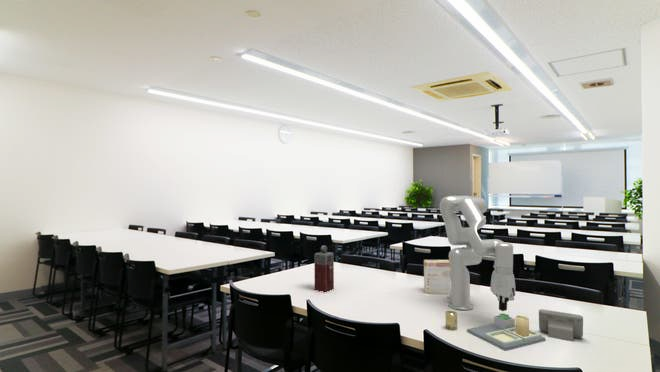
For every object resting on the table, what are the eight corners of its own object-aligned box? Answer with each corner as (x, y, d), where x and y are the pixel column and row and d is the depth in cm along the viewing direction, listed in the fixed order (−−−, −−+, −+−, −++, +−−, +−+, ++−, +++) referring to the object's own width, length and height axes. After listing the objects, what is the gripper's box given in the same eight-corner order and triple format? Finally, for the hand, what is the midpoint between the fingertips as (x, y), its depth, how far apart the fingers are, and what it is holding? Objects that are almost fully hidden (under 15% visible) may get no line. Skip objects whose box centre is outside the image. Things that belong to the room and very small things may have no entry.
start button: (497, 323, 159) (497, 314, 160) (503, 322, 161) (503, 312, 161) (504, 327, 156) (504, 317, 156) (511, 325, 157) (511, 315, 157)
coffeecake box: (448, 291, 218) (448, 259, 218) (451, 294, 211) (450, 262, 211) (423, 290, 220) (423, 259, 220) (425, 293, 212) (425, 261, 213)
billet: (443, 327, 161) (443, 311, 161) (451, 325, 163) (451, 310, 163) (451, 331, 157) (450, 315, 157) (459, 329, 159) (459, 313, 159)
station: (467, 331, 156) (467, 312, 156) (504, 323, 165) (504, 305, 165) (505, 350, 137) (505, 328, 137) (545, 340, 146) (545, 320, 146)
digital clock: (585, 338, 149) (584, 313, 149) (581, 345, 142) (580, 318, 142) (541, 327, 160) (541, 304, 160) (536, 333, 153) (535, 309, 154)
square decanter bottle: (329, 293, 214) (329, 247, 215) (314, 290, 221) (314, 245, 221) (337, 289, 222) (336, 245, 222) (322, 287, 228) (322, 244, 228)
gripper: (484, 266, 164) (483, 305, 165) (511, 275, 151) (511, 317, 151) (496, 265, 167) (495, 303, 168) (524, 273, 153) (523, 314, 154)
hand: (502, 310), depth 159 cm, fingers closed
